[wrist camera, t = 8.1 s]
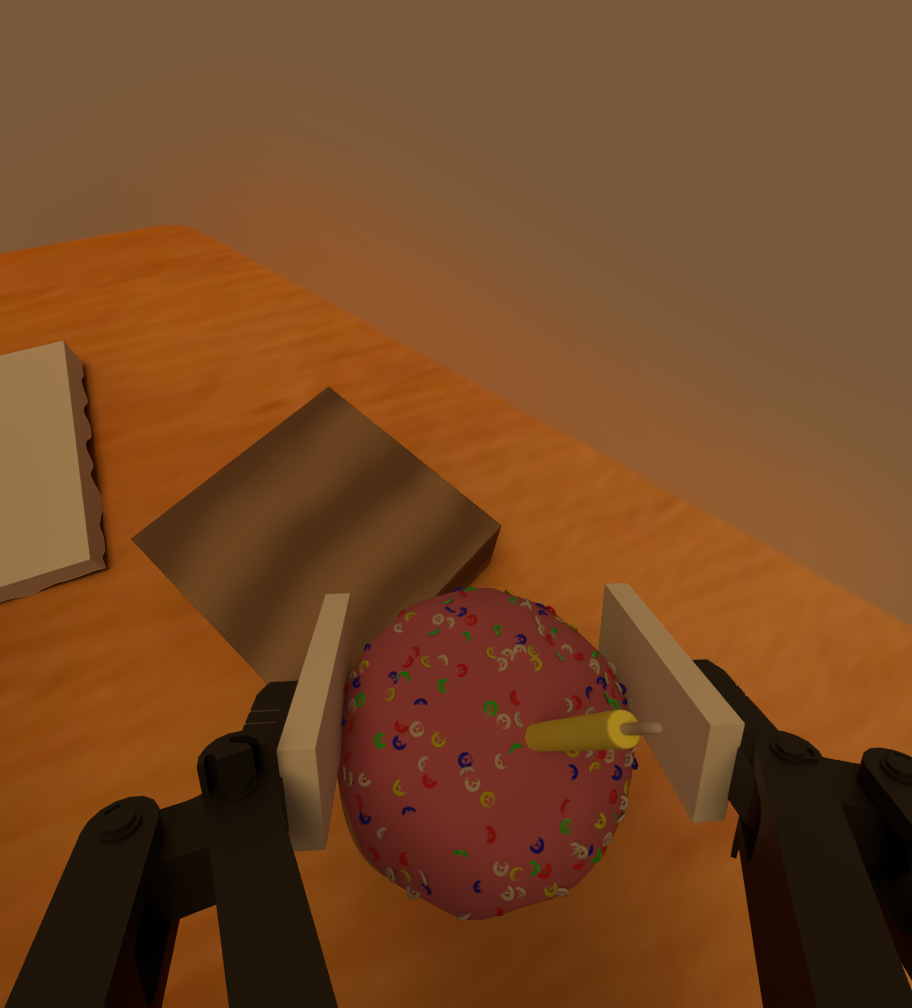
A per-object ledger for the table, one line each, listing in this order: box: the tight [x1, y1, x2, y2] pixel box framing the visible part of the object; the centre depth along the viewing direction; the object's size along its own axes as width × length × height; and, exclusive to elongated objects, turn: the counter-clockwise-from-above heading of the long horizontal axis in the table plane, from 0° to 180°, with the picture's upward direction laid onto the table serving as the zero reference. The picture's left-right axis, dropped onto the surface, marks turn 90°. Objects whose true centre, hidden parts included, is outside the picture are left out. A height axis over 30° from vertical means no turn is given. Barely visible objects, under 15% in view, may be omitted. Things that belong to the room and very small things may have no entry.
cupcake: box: [337, 587, 663, 920], centre depth 14 cm, size 9×8×12 cm
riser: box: [131, 387, 501, 684], centre depth 36 cm, size 16×16×7 cm
